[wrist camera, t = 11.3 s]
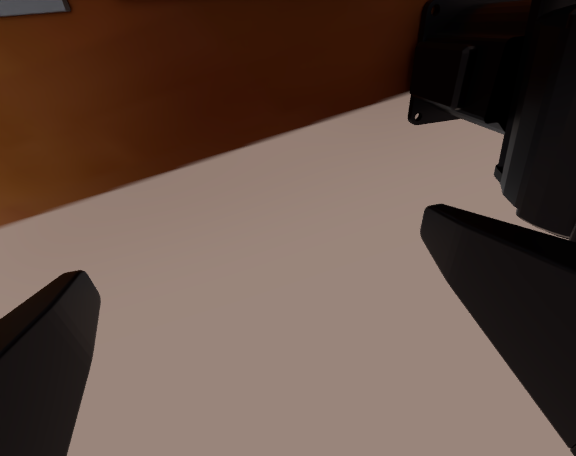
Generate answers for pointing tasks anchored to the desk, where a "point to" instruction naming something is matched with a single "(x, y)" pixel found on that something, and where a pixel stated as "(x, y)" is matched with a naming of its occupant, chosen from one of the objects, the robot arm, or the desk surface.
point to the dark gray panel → (32, 7)
